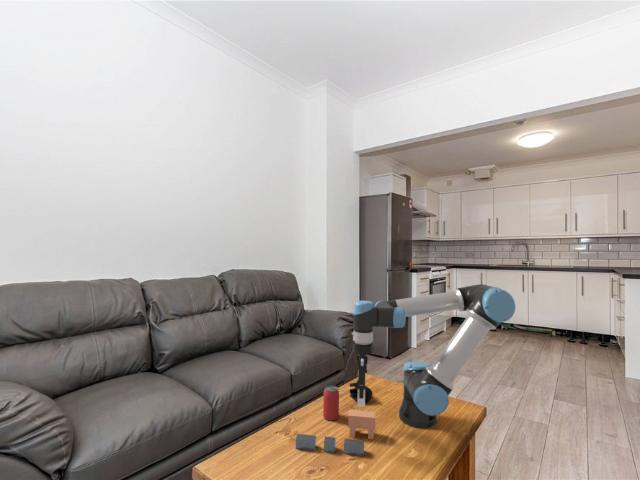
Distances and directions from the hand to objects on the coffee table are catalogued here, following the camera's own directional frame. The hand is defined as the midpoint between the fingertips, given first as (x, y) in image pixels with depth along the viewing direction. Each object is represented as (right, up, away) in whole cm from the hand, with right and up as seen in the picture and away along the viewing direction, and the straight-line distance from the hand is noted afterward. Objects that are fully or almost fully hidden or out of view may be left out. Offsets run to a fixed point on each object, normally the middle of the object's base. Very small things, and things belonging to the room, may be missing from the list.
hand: (361, 397), depth 125 cm
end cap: (+3, -15, +30) cm, 33 cm away
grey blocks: (-12, -14, -10) cm, 21 cm away
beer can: (-11, -14, +12) cm, 22 cm away
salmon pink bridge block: (0, -14, 0) cm, 14 cm away
